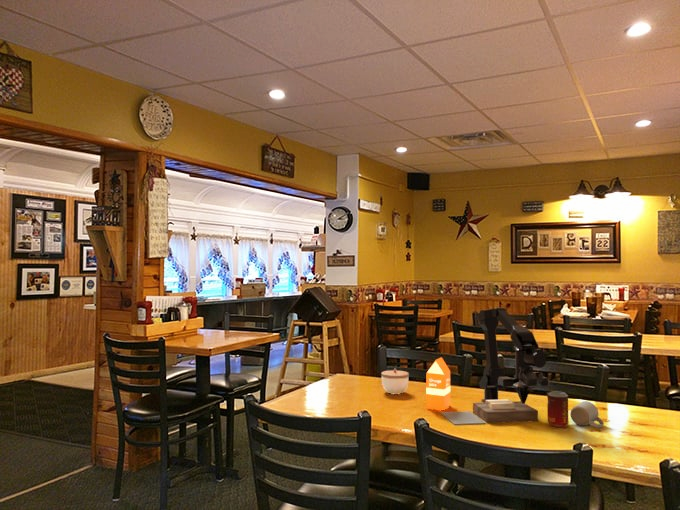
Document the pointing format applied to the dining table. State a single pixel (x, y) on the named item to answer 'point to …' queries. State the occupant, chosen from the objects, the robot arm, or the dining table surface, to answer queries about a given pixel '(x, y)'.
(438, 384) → the orange juice
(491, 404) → the number block
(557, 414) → the soda can
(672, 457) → the dining table surface
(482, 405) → the walnut stand
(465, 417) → the rubber mat
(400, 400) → the dining table surface
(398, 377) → the lidded bowl
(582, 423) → the ceramic mug
